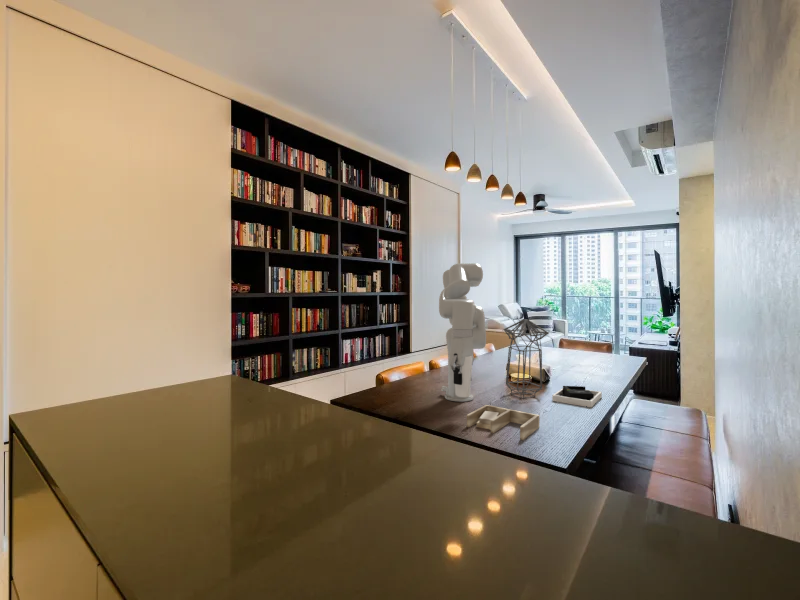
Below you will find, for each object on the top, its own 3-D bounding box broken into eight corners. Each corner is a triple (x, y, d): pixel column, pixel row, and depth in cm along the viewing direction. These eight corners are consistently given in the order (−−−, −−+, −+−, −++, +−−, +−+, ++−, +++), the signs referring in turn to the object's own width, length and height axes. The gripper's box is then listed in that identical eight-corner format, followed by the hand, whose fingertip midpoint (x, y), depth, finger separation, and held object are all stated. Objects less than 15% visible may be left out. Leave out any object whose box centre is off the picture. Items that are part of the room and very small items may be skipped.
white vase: (471, 398, 140) (472, 357, 140) (452, 397, 141) (453, 356, 141) (472, 394, 146) (472, 354, 146) (454, 393, 148) (454, 353, 148)
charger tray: (552, 400, 169) (552, 395, 169) (564, 391, 183) (565, 386, 183) (591, 407, 159) (591, 401, 159) (601, 397, 173) (601, 391, 173)
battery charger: (593, 403, 164) (593, 394, 164) (569, 402, 166) (569, 393, 165) (585, 395, 176) (585, 386, 176) (562, 394, 178) (562, 385, 178)
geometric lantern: (527, 390, 187) (529, 317, 185) (549, 399, 172) (551, 320, 170) (498, 392, 182) (500, 317, 180) (518, 402, 167) (521, 321, 165)
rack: (466, 429, 135) (466, 414, 135) (486, 417, 147) (486, 404, 147) (523, 443, 123) (523, 427, 123) (539, 429, 135) (539, 415, 134)
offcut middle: (476, 427, 135) (476, 422, 135) (486, 418, 144) (486, 414, 144) (492, 430, 132) (492, 425, 132) (501, 421, 141) (501, 417, 141)
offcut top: (479, 422, 135) (479, 418, 135) (485, 415, 143) (485, 410, 143) (494, 424, 133) (494, 420, 133) (498, 417, 141) (498, 412, 141)
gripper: (465, 331, 152) (465, 377, 153) (441, 335, 139) (441, 385, 139) (482, 332, 148) (482, 379, 148) (459, 336, 134) (459, 388, 135)
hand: (462, 382), depth 144 cm, fingers closed on white vase, 6 cm apart
